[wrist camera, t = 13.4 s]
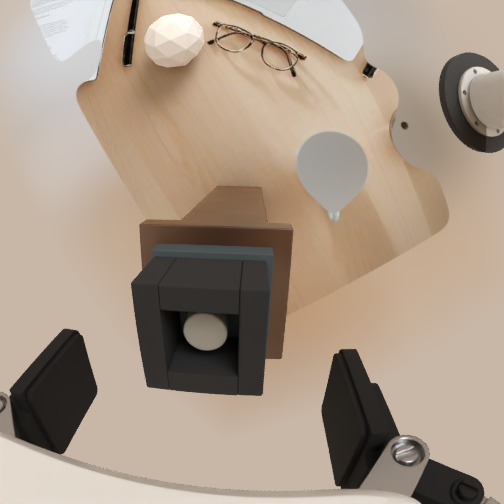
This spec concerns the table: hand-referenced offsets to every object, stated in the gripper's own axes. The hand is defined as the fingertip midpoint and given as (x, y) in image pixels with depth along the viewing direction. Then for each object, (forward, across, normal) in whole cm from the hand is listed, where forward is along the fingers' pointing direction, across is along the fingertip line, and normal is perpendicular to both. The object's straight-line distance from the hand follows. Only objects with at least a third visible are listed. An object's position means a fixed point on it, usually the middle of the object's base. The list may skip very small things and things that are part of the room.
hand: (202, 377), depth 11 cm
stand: (+35, +1, 0) cm, 35 cm away
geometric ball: (+35, +10, -23) cm, 43 cm away
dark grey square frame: (+6, 0, 0) cm, 6 cm away
